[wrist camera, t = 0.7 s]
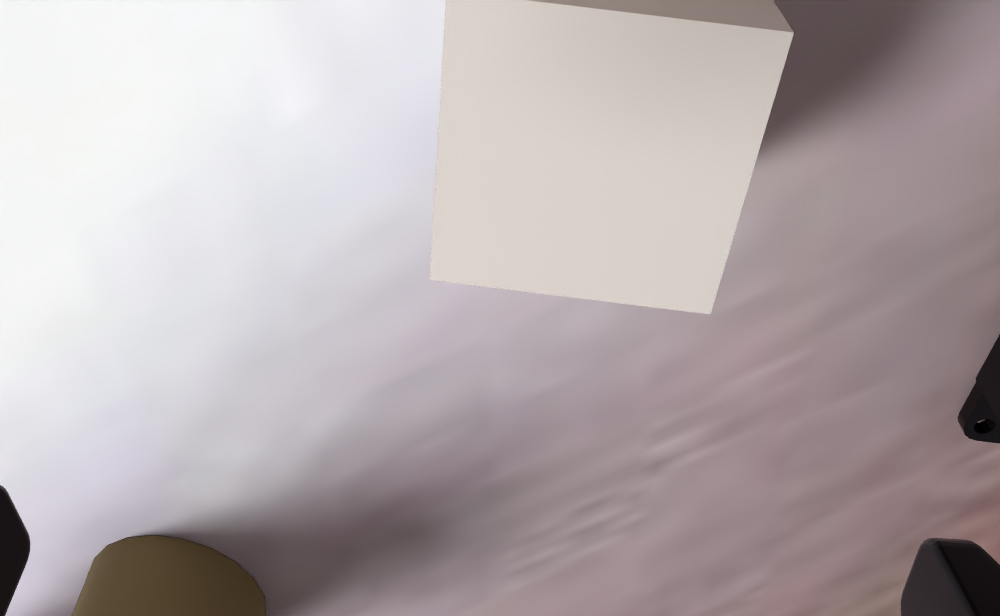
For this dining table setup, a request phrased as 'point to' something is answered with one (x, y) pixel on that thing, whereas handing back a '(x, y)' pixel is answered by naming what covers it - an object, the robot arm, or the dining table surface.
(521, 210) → the white cube
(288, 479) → the dining table surface
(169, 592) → the olive drink cup
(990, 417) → the robot arm
